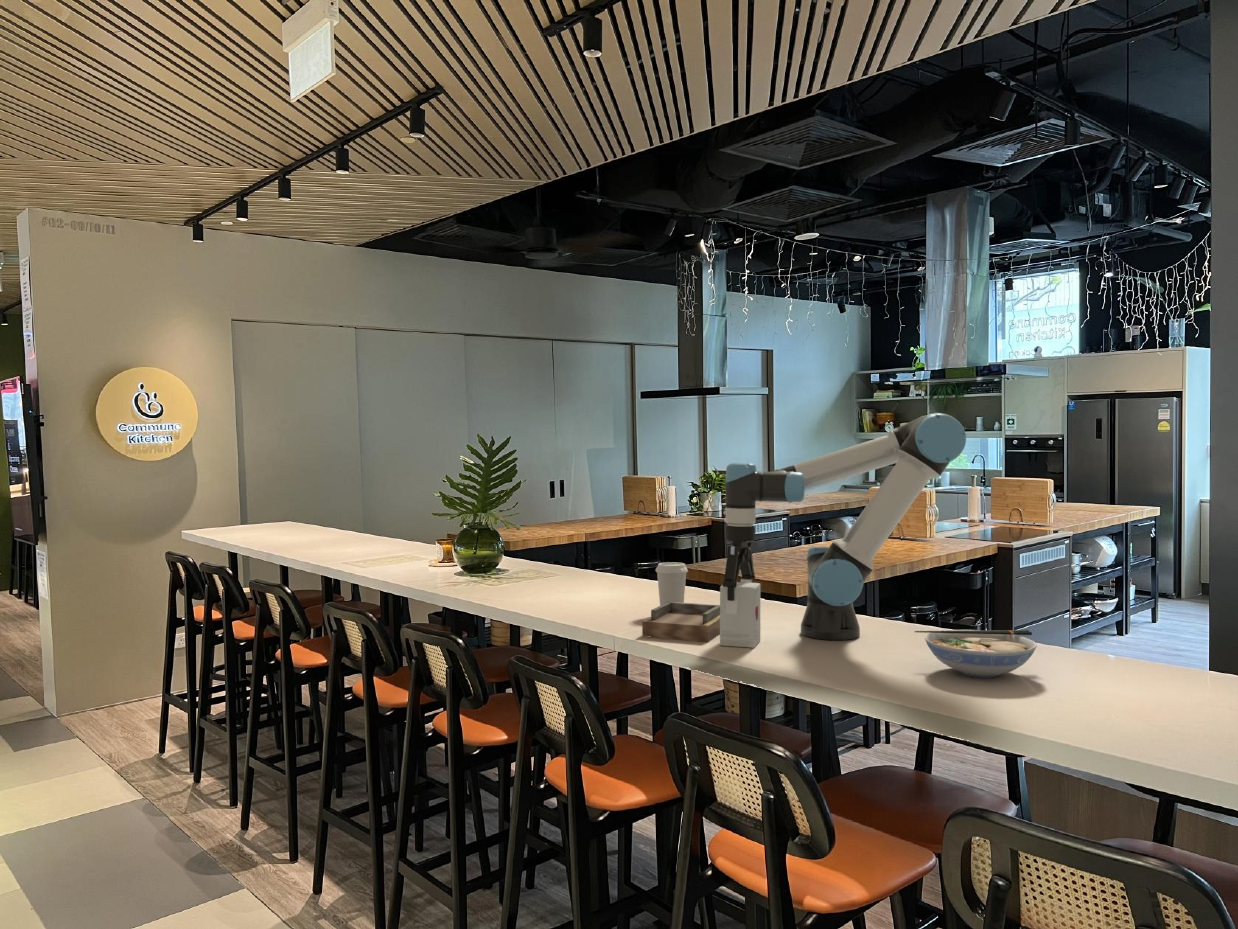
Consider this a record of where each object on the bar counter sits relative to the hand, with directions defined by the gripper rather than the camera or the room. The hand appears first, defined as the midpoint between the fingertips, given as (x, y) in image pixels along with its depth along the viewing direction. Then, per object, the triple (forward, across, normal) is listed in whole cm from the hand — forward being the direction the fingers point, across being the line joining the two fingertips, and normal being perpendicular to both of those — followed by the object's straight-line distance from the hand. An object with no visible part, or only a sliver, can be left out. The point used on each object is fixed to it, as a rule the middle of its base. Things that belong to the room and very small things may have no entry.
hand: (739, 609), depth 226 cm
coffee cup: (+9, -30, -28) cm, 42 cm away
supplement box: (+9, 0, 0) cm, 9 cm away
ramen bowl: (+8, +10, +56) cm, 58 cm away
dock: (+9, -8, -16) cm, 20 cm away
